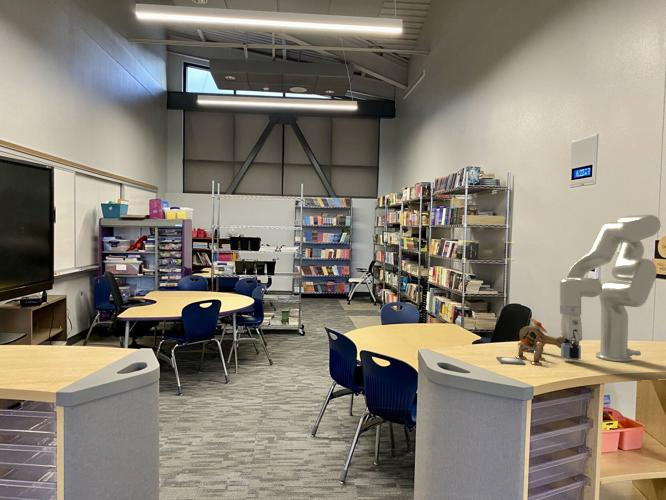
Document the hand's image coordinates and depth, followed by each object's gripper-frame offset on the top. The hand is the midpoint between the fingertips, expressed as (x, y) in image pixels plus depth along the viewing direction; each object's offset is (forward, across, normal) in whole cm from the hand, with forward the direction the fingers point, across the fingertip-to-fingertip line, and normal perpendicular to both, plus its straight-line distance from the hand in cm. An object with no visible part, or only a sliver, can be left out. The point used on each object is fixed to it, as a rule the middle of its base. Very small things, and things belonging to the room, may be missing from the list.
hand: (570, 355), depth 184 cm
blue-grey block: (+1, 0, 0) cm, 1 cm away
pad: (+2, -6, +24) cm, 25 cm away
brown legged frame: (+2, -3, +15) cm, 15 cm away
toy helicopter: (+3, +15, +7) cm, 17 cm away
